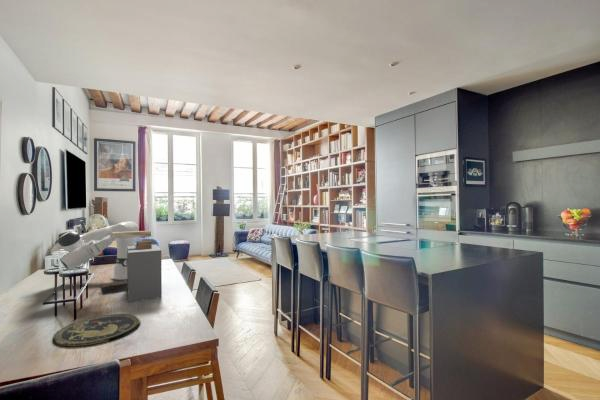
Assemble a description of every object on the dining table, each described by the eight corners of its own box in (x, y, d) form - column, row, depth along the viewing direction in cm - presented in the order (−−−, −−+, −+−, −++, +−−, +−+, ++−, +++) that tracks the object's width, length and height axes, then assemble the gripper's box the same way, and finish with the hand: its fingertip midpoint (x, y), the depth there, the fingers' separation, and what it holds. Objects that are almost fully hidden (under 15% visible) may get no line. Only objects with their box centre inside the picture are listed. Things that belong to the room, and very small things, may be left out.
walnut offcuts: (135, 248, 180) (135, 241, 180) (151, 246, 184) (151, 240, 184) (135, 249, 175) (135, 242, 175) (152, 248, 179) (152, 241, 179)
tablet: (148, 280, 209) (154, 286, 192) (148, 281, 209) (154, 287, 192) (100, 287, 193) (102, 294, 177) (100, 288, 193) (102, 295, 177)
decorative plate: (71, 317, 137) (146, 310, 146) (72, 322, 137) (146, 314, 146) (36, 349, 109) (131, 337, 117) (36, 354, 109) (131, 342, 117)
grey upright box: (127, 289, 187) (127, 246, 188) (156, 285, 195) (156, 244, 196) (128, 302, 163) (128, 252, 163) (161, 297, 171) (161, 250, 171)
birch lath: (111, 237, 178) (111, 232, 178) (150, 235, 188) (150, 230, 188) (111, 238, 175) (111, 232, 175) (150, 236, 185) (150, 231, 185)
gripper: (98, 250, 182) (122, 237, 188) (96, 255, 164) (122, 240, 170) (92, 241, 180) (116, 228, 187) (89, 245, 163) (116, 230, 169)
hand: (119, 234), depth 178 cm, fingers closed on birch lath, 4 cm apart
